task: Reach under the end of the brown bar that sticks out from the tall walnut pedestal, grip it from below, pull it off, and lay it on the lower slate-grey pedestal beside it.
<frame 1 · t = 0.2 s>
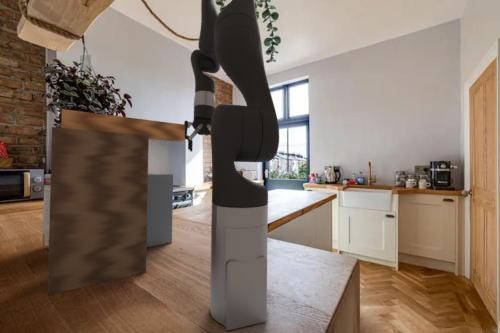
hand: (203, 151, 79), 29 cm above the worktop, tool pointing down, fingers open, 8 cm apart
slate pedestal: (140, 242, 68), on the worktop
brown bar: (130, 136, 51), point 30 cm above the worktop, touching walnut pedestal
walnut pedestal: (101, 272, 48), on the worktop
cracker box: (73, 247, 64), on the worktop
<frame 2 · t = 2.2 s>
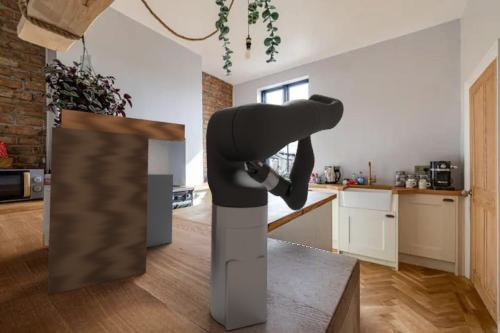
hand: (224, 147, 65), 29 cm above the worktop, tool pointing upward, fingers open, 8 cm apart
nothing on the worktop moved.
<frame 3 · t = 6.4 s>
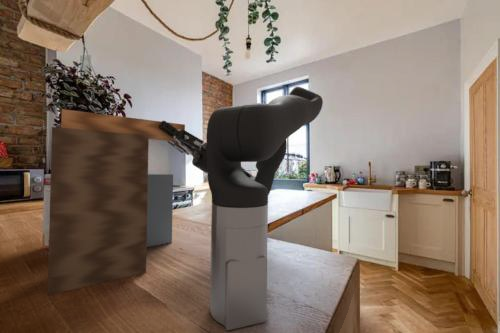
hand: (158, 125, 55), 33 cm above the worktop, tool pointing upward, fingers closed on brown bar, 4 cm apart
brown bar: (130, 136, 51), point 30 cm above the worktop, touching gripper, walnut pedestal
everything else where it was.
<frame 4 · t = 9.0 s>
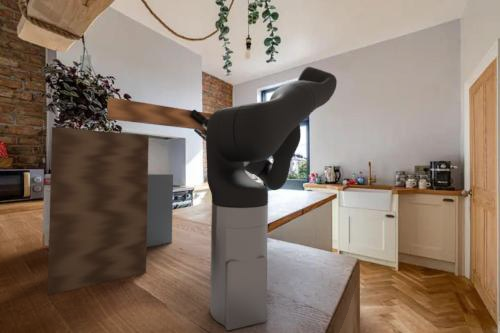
hand: (188, 114, 59), 37 cm above the worktop, tool pointing upward, fingers closed on brown bar, 4 cm apart
brown bar: (164, 124, 55), point 34 cm above the worktop, touching gripper
everything else where it was.
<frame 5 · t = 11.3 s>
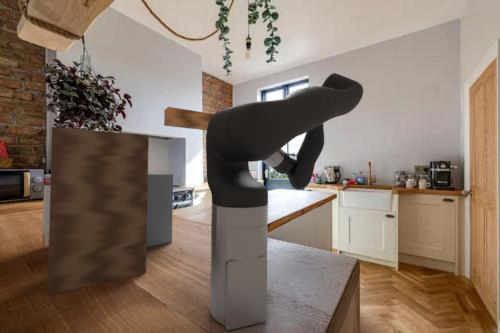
hand: (229, 120, 66), 37 cm above the worktop, tool pointing upward, fingers closed on brown bar, 4 cm apart
brown bar: (210, 129, 63), point 34 cm above the worktop, touching gripper
everything else where it was.
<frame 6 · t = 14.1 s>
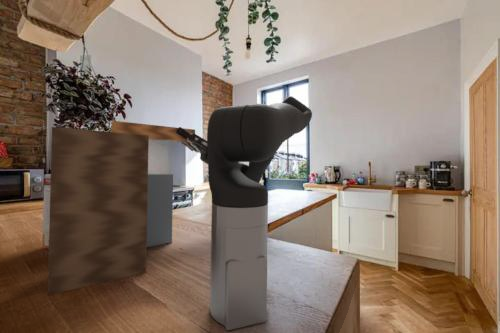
hand: (175, 130, 74), 35 cm above the worktop, tool pointing upward, fingers closed on brown bar, 4 cm apart
brown bar: (156, 139, 70), point 32 cm above the worktop, touching gripper
everything else where it was.
when the fingers open (26 cm above the worktop, at t = 16.5 s): brown bar drops 1 cm, resting on slate pedestal.
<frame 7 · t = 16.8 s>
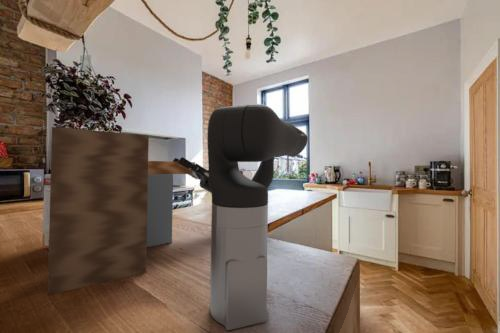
hand: (176, 160, 74), 26 cm above the worktop, tool pointing upward, fingers open, 6 cm apart
brown bar: (155, 173, 70), point 21 cm above the worktop, touching slate pedestal
everything else where it was.
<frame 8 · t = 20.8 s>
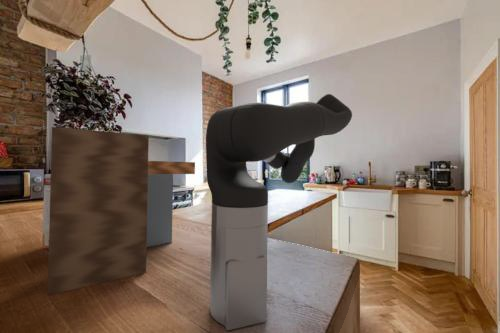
hand: (231, 122, 77), 39 cm above the worktop, tool pointing upward, fingers open, 8 cm apart
nothing on the worktop moved.
at the end: brown bar inside the target area on the slate pedestal (0.4 cm from its centre), point 21.0 cm above the slate pedestal's base; the gripper is holding nothing; brown bar touching slate pedestal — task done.
